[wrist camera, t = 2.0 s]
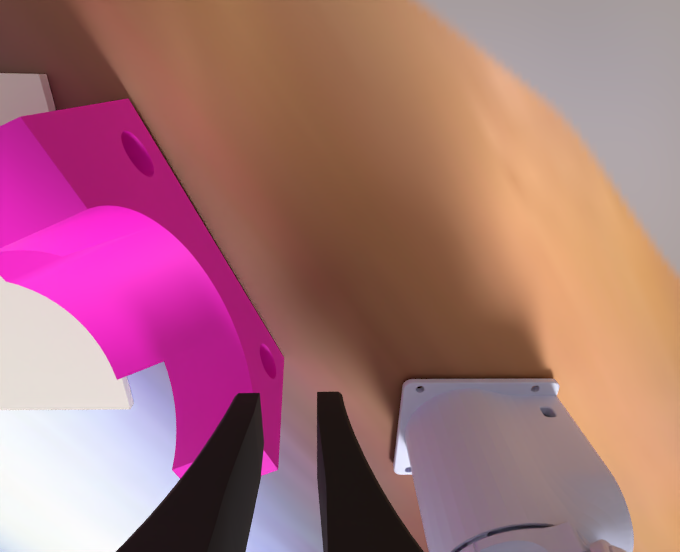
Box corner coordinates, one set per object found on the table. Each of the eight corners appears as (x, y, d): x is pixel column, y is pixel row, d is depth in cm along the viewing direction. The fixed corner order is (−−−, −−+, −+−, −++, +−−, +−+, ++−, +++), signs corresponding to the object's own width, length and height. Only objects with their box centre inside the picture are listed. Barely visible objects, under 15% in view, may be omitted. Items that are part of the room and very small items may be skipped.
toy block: (2, 157, 18) (-176, 210, 11) (128, 98, 17) (20, 116, 11) (188, 395, 25) (147, 516, 18) (284, 357, 24) (277, 469, 17)
